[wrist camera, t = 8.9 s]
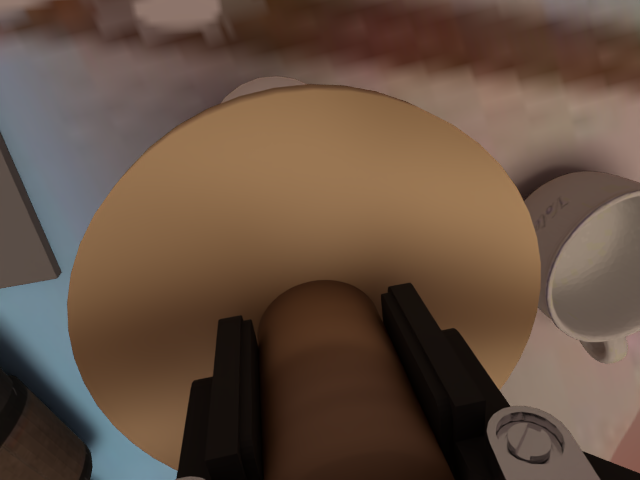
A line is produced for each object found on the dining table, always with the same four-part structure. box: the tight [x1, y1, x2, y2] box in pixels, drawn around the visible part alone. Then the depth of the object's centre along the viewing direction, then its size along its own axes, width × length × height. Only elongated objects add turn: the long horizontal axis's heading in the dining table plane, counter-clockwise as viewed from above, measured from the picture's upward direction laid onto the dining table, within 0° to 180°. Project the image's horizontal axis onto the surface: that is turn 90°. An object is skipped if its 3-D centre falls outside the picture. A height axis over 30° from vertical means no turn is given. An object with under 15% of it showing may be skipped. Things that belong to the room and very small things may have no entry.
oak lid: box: [67, 84, 541, 480], centre depth 10 cm, size 12×12×6 cm
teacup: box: [524, 171, 640, 364], centre depth 33 cm, size 14×11×8 cm
